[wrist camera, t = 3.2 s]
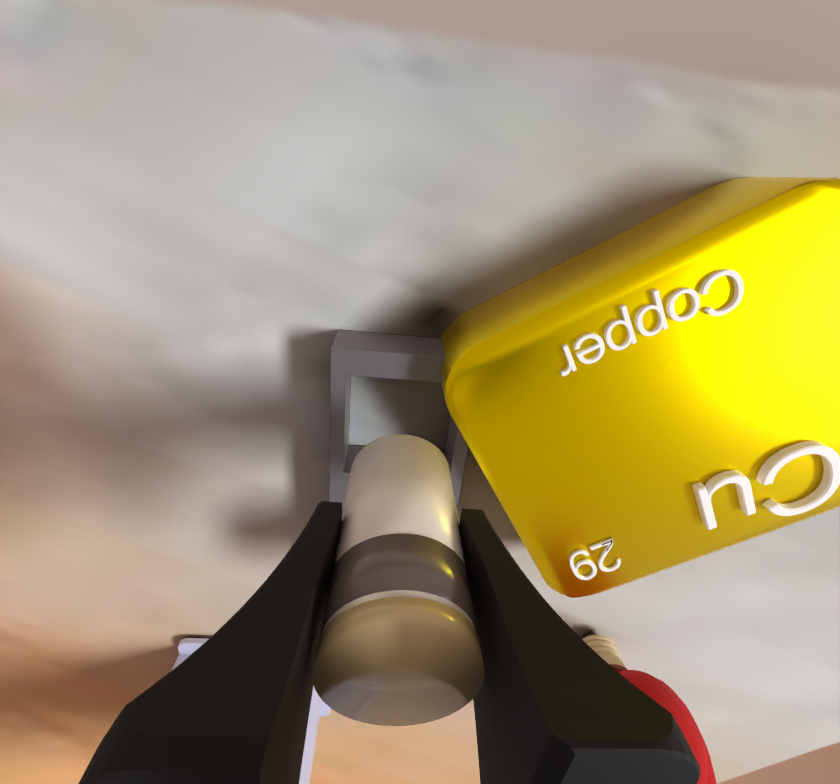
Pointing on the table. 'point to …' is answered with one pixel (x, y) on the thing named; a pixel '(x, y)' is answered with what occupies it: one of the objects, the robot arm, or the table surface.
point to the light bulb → (658, 701)
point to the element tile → (662, 385)
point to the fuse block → (383, 361)
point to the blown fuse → (399, 594)
